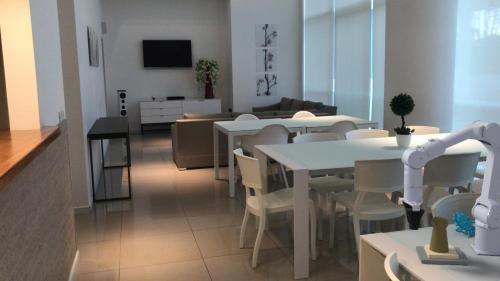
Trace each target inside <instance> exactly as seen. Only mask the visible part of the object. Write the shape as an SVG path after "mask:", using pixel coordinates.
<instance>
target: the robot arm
mask: <svg viewBox="0 0 500 281" xmlns="http://www.w3.org/2000/svg"><path fill="white" fill-rule="evenodd" d="M467 140H473V141H474V140H475V141H478V142H479V143H481V144H482V145H483V146H484V147H485V148H486V150H487V152H486V161H485V168H484V171H483V172H484V173H483V179H482V187H481V193H480V194H481V195H480V196H479V197H477V198H476V199H475V203H474V204H473V207H472V209H471V216H472V218H473V219H474V220H475V222H476V223H475V227H476V228H475V234H474V235H475V236H474V244H471V245H470V247H471V249H473V250H474V252H475V253H476V255H490V256H491V255H492V256H500V124H499V123H497V122H489V121H484V120H480V119H477V120H474V121H473V122H469V123H466V124H465V125H464V126H463V127H461V128H459V129H457V130H456V131H454V132H452V133H450V134H449V135H446V136H445V137H443V138H441V139H439V138H438V137H436V138H432V137H430V138H429V139H428V141H426V142H423V143H422V144H420V145H415V146H414V148H408V149H406V150H405V151H404V152H402V155H401V157H400V159H401V162H402V163H403V167H404V168H403V169H404V171H403V173H404V174H403V197H400V199H399V200H400V202H402V204H403V207H404V211H405V215H406V219H407V220H406V221H407V223H409V226H410V230H411V231H419V227H420V224H421V221H422V217H423V216H424V215H425V212H426V211H425V209H422V208H421V207H420V206H421V205H422V204H423V202H424V199H423V183H424V182H423V180H424V179H423V178H424V177H423V176H424V173H423V172H424V170H423V169H424V167H425V166H426V164H427V163H428V162H430V161H432V160H433V159H436V158H439V157H440V156H443V155H444V154H445V152H446V150H447V149H448V148H451V147H453V146H455V145H458V144H460V143H463V142H465V141H467Z"/></svg>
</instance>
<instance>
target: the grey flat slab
mask: <svg viewBox="0 0 500 281" xmlns="http://www.w3.org/2000/svg"><path fill="white" fill-rule="evenodd" d="M448 247H449V252H447V253H436V252H432V251H431V250H430V249H429V248H430V244H424V245H423V246H421V245H420V246H419V245H416V246H415V251H416V253H417V256H418V258H419V260H420V263H421V264H429V265H430V264H431V265H454V266H457V265H458V266H469V260H468V259H467V257H466V256H465V254H464V253H463V252H462V250H461V248H460V247H454V246H453V244H448Z"/></svg>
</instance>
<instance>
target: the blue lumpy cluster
mask: <svg viewBox="0 0 500 281" xmlns="http://www.w3.org/2000/svg"><path fill="white" fill-rule="evenodd" d="M452 216H453V218H452V221H454V226H455V227H456V228H455V229H454V231H455V232H458V231H459V232H463V231H464V232H463V234H464V235H465V236H467V235H469V236H470V237H473V236H474V235H475V228H476V222H475V219H474V220H472V221H471V216H469V215H468V216H466V213H465V212H462V213H461V211H457V212H456V213H454V214H453V215H452ZM465 216H466V217H465Z"/></svg>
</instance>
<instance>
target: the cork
mask: <svg viewBox="0 0 500 281" xmlns="http://www.w3.org/2000/svg"><path fill="white" fill-rule="evenodd" d="M430 223H431V226H432V231H431V237H430V243H429V245H430V248H429V249H430V250H431V251H432V252H436V253H447V252H449V247H448V245H449V240H448V232H447V228H448V226H449V220H448V219H447V218H446V217H443V216H433V217H432V218H431V220H430Z"/></svg>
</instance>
